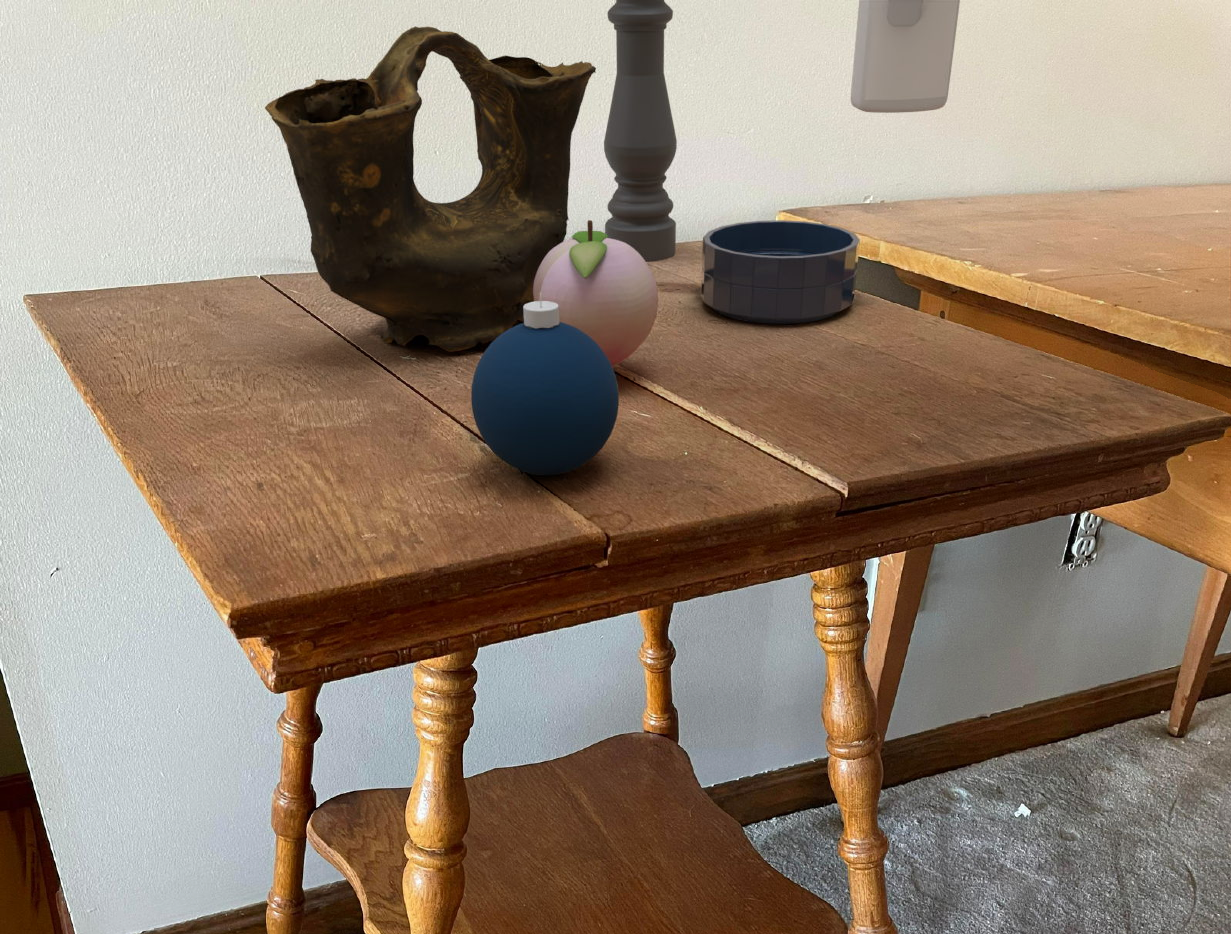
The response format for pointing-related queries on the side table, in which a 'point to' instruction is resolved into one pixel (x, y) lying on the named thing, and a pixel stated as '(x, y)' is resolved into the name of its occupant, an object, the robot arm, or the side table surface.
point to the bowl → (779, 270)
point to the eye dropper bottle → (903, 58)
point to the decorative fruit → (600, 291)
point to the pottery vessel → (426, 231)
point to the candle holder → (641, 131)
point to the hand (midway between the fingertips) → (907, 20)
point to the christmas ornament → (544, 394)
